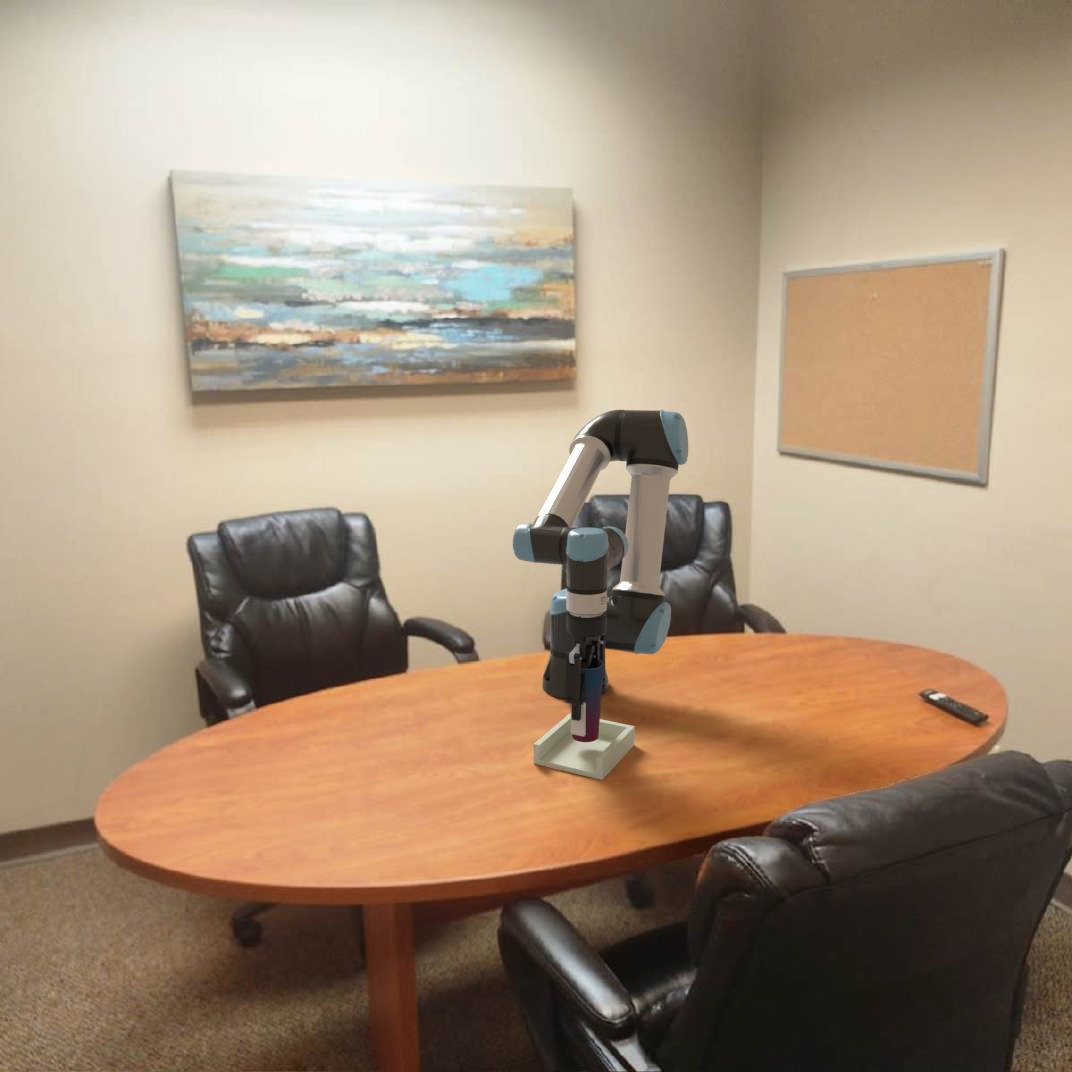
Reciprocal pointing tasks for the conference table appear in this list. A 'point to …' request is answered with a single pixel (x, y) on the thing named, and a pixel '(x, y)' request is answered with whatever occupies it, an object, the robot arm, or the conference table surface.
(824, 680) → the conference table surface
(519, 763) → the conference table surface
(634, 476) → the robot arm
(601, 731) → the open sided tray
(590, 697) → the cup
